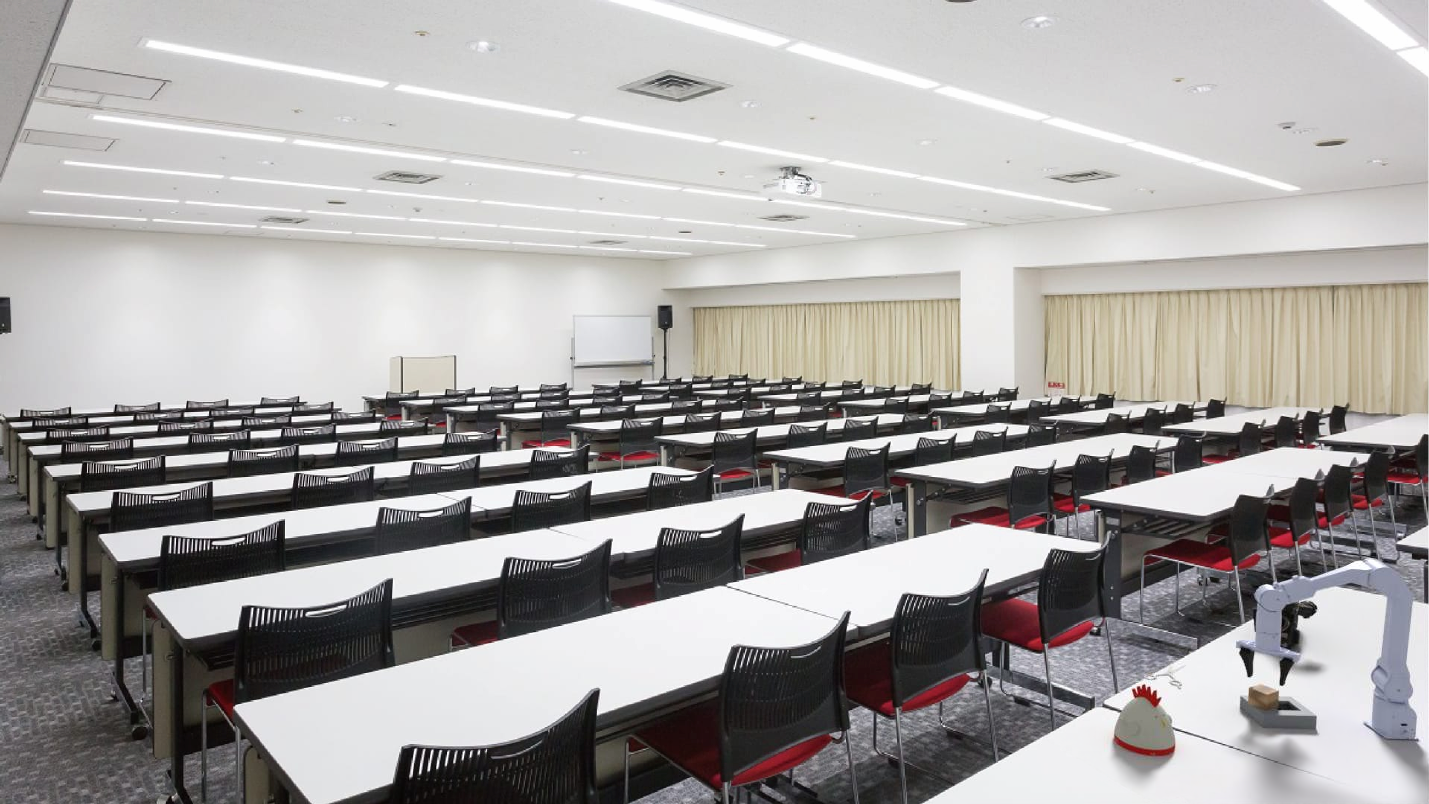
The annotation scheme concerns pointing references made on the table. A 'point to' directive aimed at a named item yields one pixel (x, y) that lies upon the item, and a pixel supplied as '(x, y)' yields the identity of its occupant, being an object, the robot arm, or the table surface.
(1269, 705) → the peg
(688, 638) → the table surface
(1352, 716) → the table surface
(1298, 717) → the square hole plate
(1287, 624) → the movie camera
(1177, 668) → the scissors
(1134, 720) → the kitchen timer
